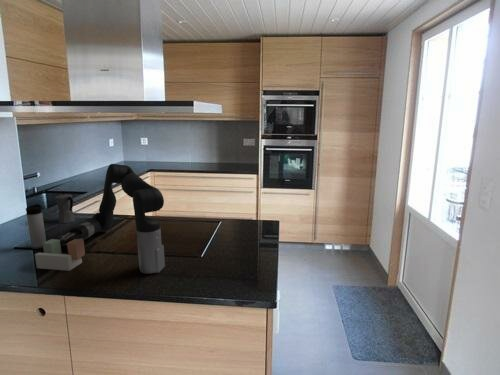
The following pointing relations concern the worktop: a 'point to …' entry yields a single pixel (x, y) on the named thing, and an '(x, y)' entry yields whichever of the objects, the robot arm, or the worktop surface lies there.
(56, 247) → the green rectangular block
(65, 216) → the coffeepot
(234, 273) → the worktop surface
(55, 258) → the console
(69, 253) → the terracotta rectangular block
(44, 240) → the travel mug
